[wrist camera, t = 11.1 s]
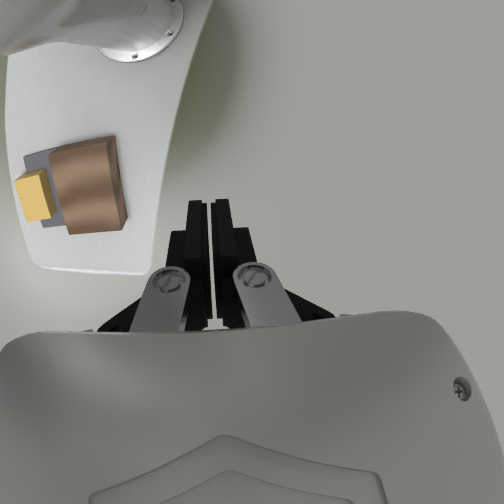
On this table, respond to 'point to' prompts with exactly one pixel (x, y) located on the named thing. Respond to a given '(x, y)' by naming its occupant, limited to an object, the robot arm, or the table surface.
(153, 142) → the table surface
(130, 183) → the table surface
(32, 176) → the ochre tile
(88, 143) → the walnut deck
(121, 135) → the table surface
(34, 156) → the charcoal mat
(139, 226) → the table surface
